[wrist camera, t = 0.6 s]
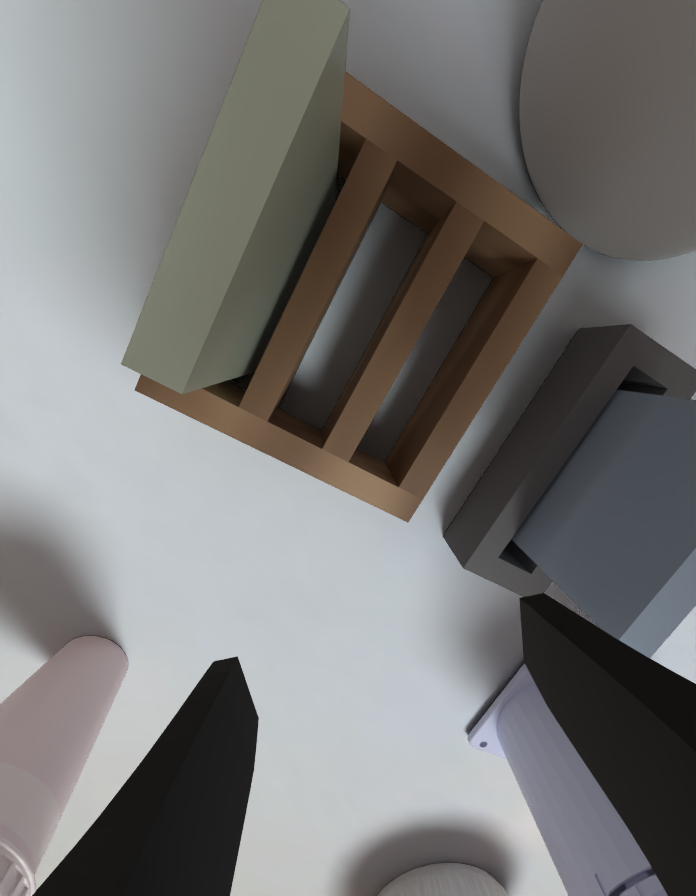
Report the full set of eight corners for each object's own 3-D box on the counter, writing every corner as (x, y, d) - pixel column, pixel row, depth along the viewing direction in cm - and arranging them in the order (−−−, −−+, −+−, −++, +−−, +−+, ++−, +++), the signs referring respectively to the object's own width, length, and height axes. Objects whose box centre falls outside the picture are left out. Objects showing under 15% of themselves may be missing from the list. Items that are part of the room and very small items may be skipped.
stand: (645, 372, 18) (706, 376, 15) (506, 567, 21) (536, 602, 18) (579, 328, 17) (630, 324, 14) (442, 536, 20) (463, 568, 17)
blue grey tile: (595, 397, 18) (841, 439, 10) (506, 524, 20) (648, 658, 11) (574, 384, 18) (807, 414, 9) (486, 514, 20) (615, 643, 11)
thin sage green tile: (334, 203, 15) (350, 8, 7) (254, 372, 17) (181, 394, 8) (305, 184, 15) (280, -46, 6) (226, 357, 17) (120, 364, 8)
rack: (529, 266, 16) (582, 244, 13) (392, 491, 19) (408, 522, 15) (291, 102, 14) (282, 25, 11) (172, 382, 17) (134, 390, 13)
